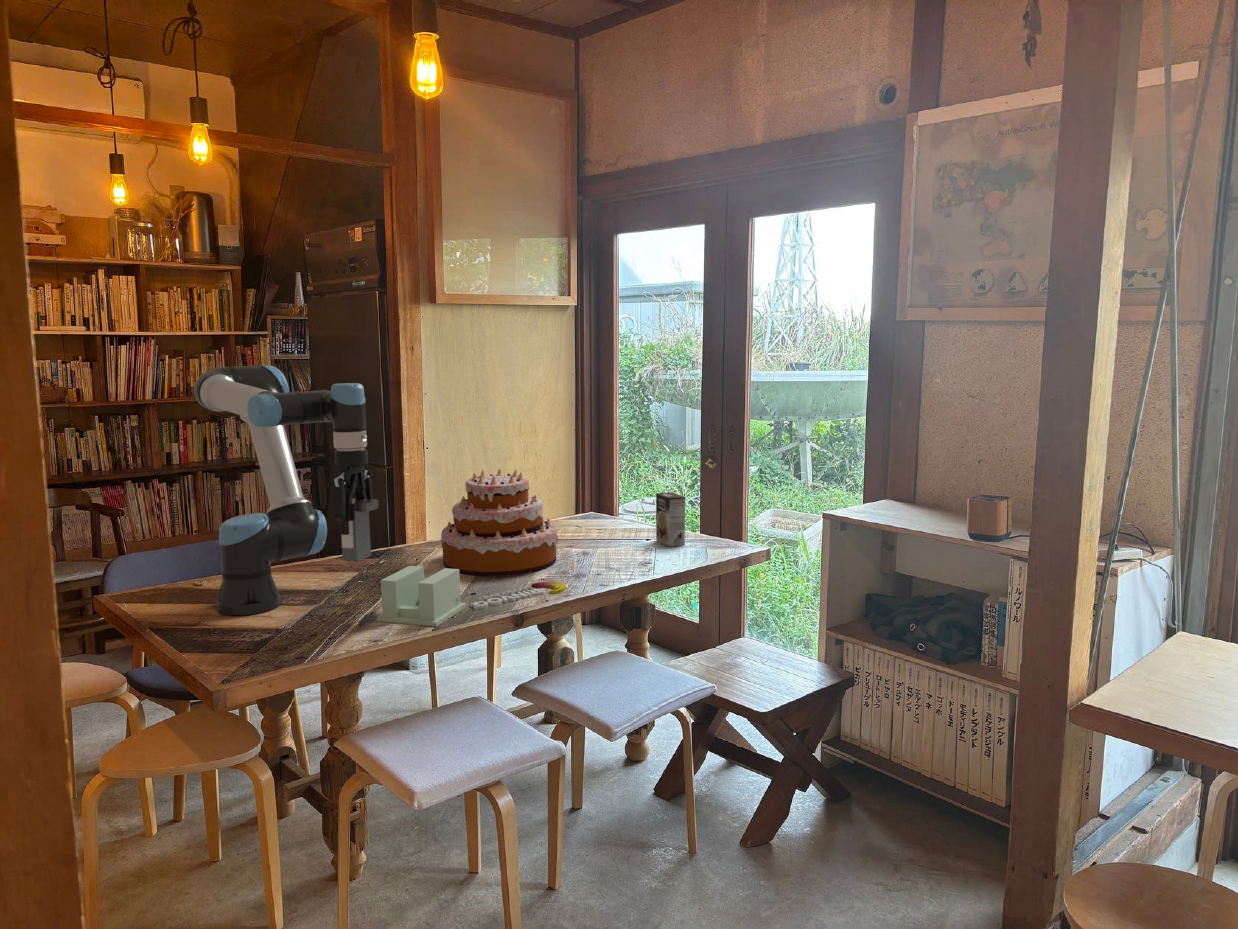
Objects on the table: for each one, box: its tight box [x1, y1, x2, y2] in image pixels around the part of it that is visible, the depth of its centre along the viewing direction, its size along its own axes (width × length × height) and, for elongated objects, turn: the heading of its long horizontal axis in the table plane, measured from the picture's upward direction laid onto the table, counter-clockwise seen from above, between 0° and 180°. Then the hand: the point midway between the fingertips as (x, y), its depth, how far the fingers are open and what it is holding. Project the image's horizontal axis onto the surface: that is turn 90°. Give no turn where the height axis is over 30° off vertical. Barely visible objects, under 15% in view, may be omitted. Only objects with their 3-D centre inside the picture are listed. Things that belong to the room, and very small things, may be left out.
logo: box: [470, 581, 566, 611], centre depth 238 cm, size 29×1×10 cm
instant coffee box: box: [655, 491, 686, 547], centre depth 295 cm, size 9×6×16 cm
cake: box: [440, 468, 559, 577], centre depth 272 cm, size 35×35×28 cm
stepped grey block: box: [340, 497, 379, 563], centre depth 215 cm, size 7×6×14 cm
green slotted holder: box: [376, 565, 467, 627], centre depth 223 cm, size 16×16×10 cm
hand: (356, 544), depth 216 cm, fingers closed on stepped grey block, 6 cm apart
